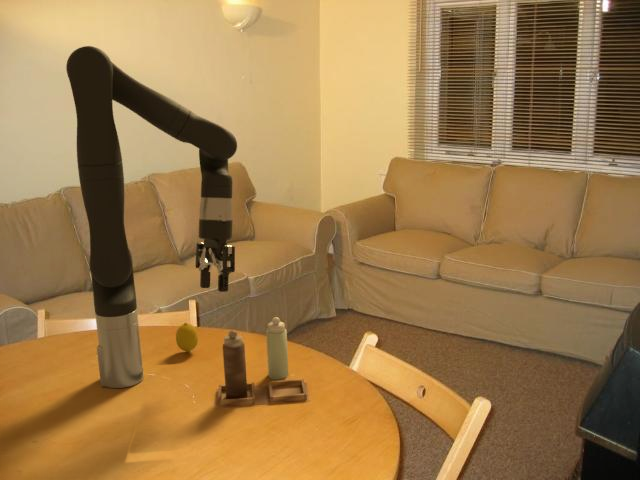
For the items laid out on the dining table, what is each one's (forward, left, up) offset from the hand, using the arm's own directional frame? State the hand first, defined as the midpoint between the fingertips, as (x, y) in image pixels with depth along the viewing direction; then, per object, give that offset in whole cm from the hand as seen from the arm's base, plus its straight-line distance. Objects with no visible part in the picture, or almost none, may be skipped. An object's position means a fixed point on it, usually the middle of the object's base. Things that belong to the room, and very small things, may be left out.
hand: (213, 289), depth 165 cm
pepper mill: (+4, -14, -20) cm, 25 cm away
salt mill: (+14, -4, -21) cm, 26 cm away
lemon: (-8, +16, -21) cm, 28 cm away
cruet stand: (+10, -14, -21) cm, 27 cm away
